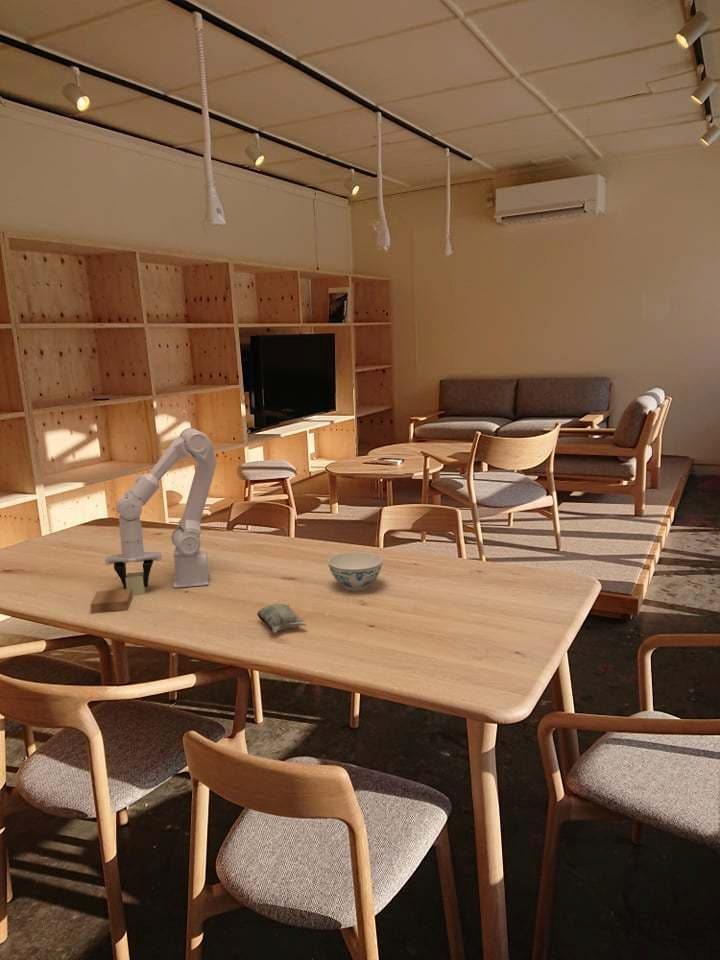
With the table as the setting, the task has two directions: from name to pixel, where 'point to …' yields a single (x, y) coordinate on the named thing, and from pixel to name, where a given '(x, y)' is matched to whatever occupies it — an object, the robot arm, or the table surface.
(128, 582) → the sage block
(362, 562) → the chinaware
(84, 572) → the table surface
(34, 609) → the table surface
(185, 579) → the robot arm
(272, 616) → the packaged food
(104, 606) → the walnut box
